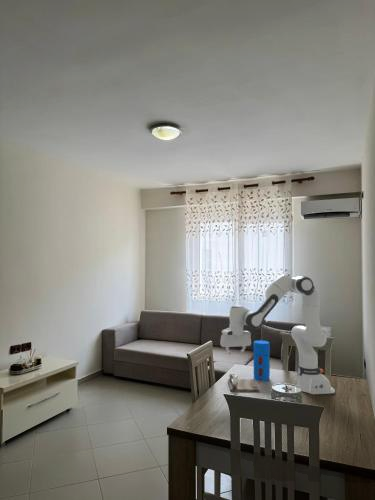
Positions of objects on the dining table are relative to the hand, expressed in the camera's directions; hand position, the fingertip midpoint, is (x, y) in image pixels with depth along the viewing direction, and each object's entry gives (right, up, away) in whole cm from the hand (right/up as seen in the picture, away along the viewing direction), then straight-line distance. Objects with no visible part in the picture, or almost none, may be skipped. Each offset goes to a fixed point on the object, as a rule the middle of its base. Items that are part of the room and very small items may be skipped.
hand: (235, 353), depth 217 cm
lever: (0, -21, +7) cm, 22 cm away
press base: (+6, -23, +7) cm, 25 cm away
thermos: (+21, -24, +22) cm, 39 cm away
